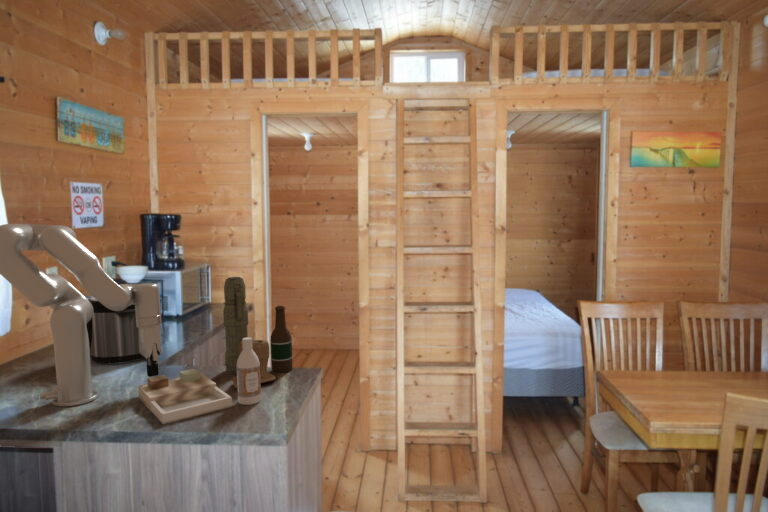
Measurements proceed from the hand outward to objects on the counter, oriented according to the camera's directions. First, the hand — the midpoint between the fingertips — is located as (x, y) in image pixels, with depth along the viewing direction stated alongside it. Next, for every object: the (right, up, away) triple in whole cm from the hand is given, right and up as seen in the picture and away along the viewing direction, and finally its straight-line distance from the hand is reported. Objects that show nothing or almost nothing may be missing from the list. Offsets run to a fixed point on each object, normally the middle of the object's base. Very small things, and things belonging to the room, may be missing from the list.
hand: (153, 375), depth 170 cm
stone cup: (+31, -5, +7) cm, 32 cm away
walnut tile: (+4, -2, -6) cm, 8 cm away
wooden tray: (+10, -6, -5) cm, 13 cm away
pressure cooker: (-31, -3, +43) cm, 53 cm away
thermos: (+22, -4, +22) cm, 31 cm away
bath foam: (+35, -6, -10) cm, 37 cm away
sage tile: (+12, -1, 0) cm, 12 cm away
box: (+19, -6, -16) cm, 25 cm away
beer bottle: (+38, -3, +22) cm, 44 cm away
